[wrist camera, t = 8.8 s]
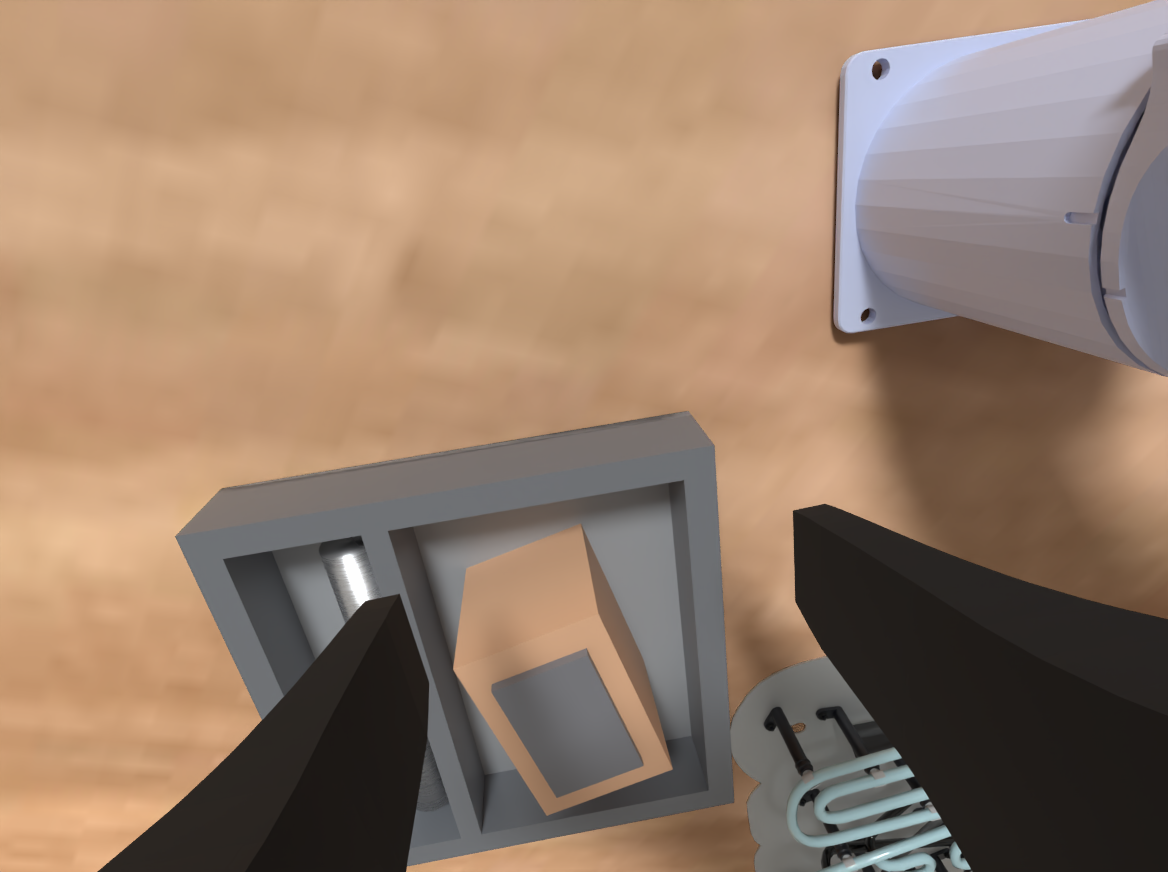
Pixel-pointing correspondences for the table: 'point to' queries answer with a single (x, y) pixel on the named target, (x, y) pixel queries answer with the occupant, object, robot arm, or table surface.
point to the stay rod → (351, 591)
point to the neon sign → (831, 782)
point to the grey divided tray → (435, 589)
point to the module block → (558, 672)
